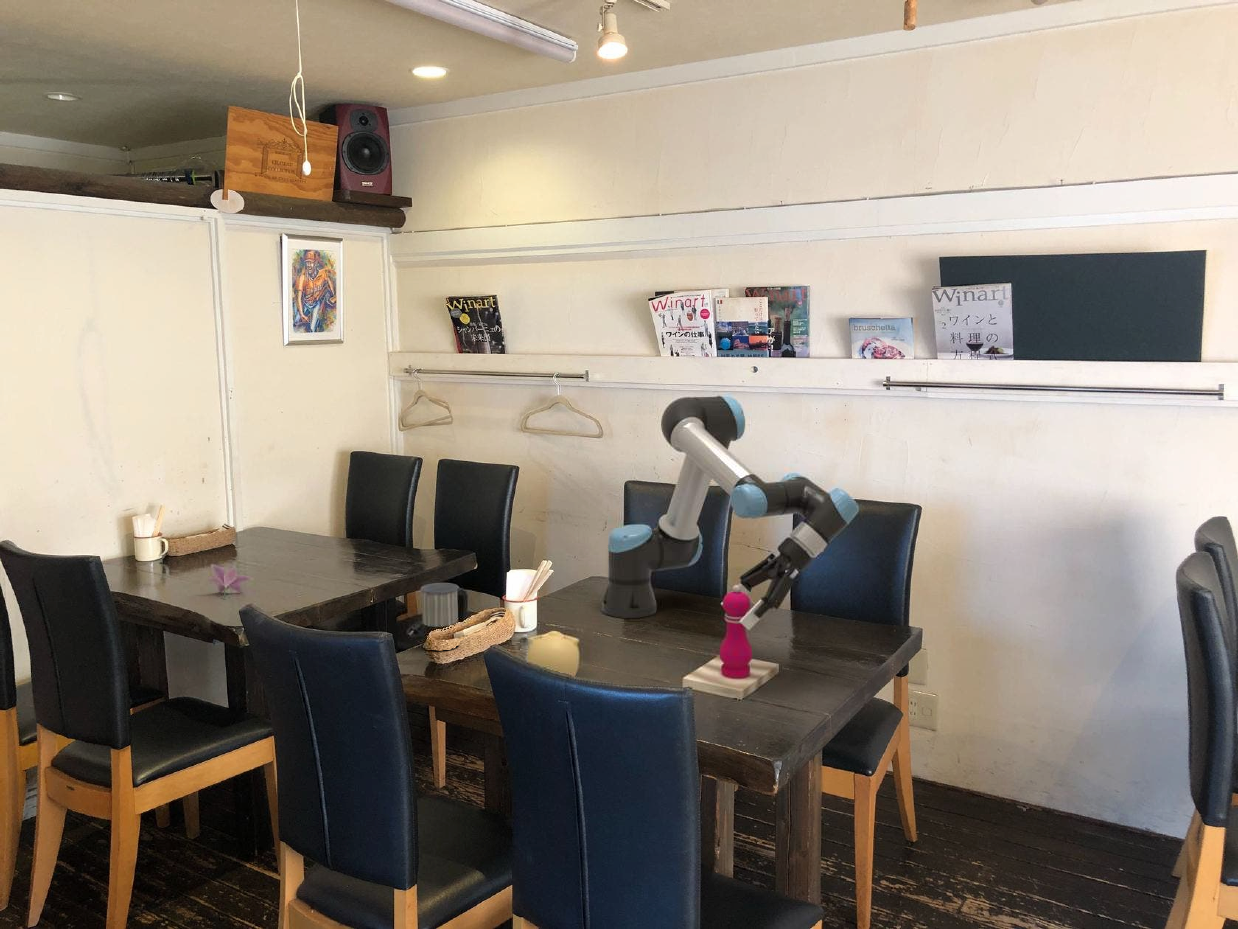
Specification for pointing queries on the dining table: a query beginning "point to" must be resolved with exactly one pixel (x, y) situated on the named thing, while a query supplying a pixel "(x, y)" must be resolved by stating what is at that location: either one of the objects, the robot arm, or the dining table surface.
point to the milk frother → (440, 609)
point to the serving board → (730, 679)
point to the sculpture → (554, 652)
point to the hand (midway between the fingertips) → (734, 617)
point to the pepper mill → (735, 636)
